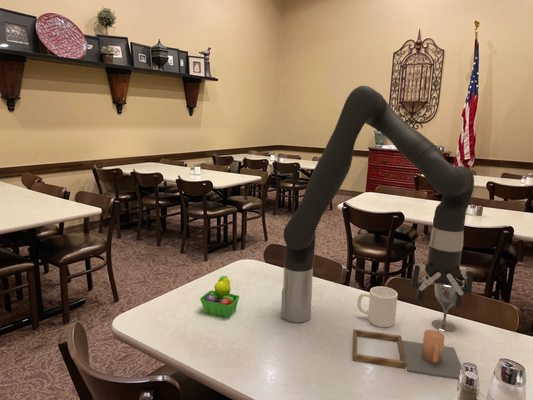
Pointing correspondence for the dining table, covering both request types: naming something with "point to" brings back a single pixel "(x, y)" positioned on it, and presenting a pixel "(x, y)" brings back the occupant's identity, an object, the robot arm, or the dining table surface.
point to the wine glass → (445, 304)
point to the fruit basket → (220, 299)
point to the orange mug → (433, 346)
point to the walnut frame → (379, 360)
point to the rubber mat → (418, 365)
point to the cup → (380, 306)
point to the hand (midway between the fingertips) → (437, 304)
